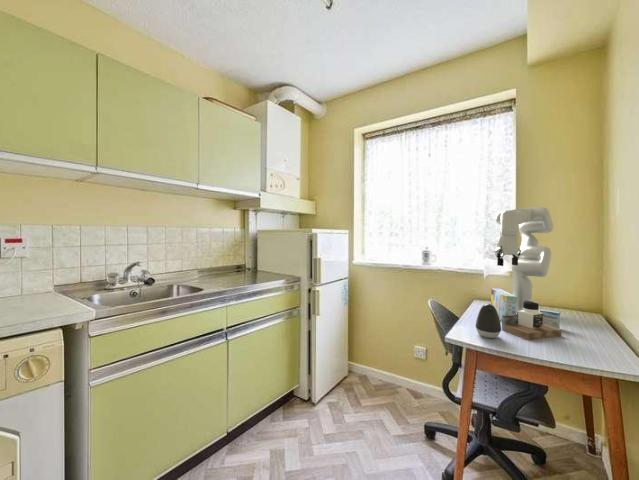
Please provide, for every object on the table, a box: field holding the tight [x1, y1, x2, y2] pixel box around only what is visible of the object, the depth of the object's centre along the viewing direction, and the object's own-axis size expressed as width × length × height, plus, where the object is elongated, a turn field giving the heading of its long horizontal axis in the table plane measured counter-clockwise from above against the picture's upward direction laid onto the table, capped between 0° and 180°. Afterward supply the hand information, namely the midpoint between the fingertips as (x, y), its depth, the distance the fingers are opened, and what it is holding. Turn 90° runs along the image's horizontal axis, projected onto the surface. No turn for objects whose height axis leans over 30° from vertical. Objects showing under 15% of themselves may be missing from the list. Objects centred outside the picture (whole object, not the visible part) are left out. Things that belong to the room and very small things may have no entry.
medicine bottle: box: [517, 300, 543, 329], centre depth 138 cm, size 7×7×12 cm
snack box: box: [490, 288, 517, 322], centre depth 160 cm, size 21×6×15 cm, turn 168°
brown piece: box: [501, 313, 563, 341], centre depth 138 cm, size 20×14×7 cm
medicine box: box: [539, 308, 561, 329], centre depth 145 cm, size 8×4×9 cm, turn 47°
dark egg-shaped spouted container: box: [475, 303, 502, 339], centre depth 133 cm, size 10×10×15 cm
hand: (507, 265), depth 155 cm, fingers open, 9 cm apart
